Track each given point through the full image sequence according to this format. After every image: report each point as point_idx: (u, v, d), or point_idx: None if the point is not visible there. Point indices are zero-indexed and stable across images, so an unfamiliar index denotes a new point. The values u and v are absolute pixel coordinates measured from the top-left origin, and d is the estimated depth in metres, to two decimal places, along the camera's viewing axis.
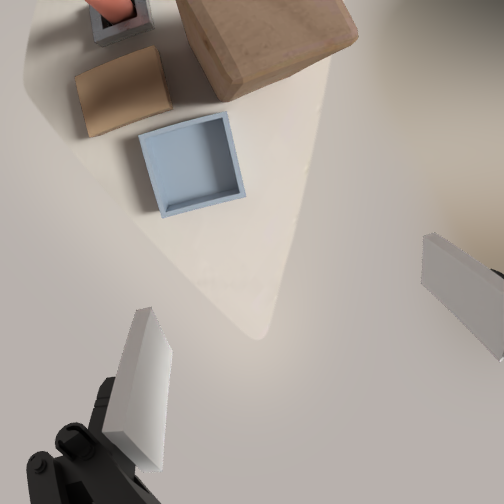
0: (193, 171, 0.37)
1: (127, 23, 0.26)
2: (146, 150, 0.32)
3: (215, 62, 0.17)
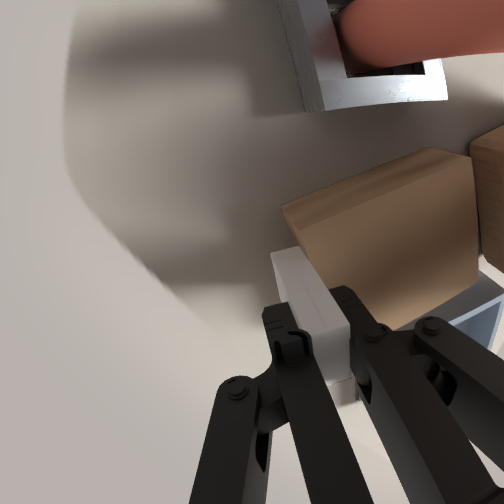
0: None
1: (407, 84, 0.11)
2: None
3: None
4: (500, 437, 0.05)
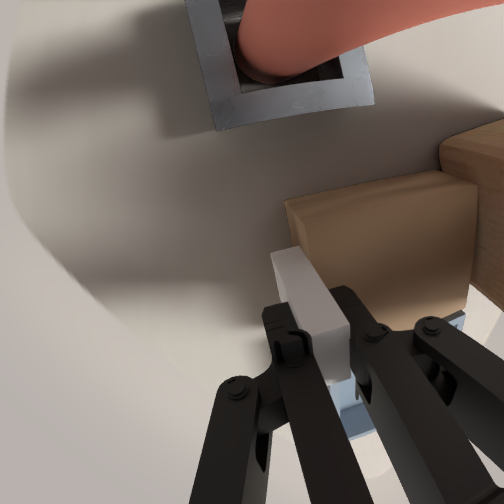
0: None
1: (318, 91, 0.11)
2: (337, 385, 0.18)
3: None
4: (500, 437, 0.05)
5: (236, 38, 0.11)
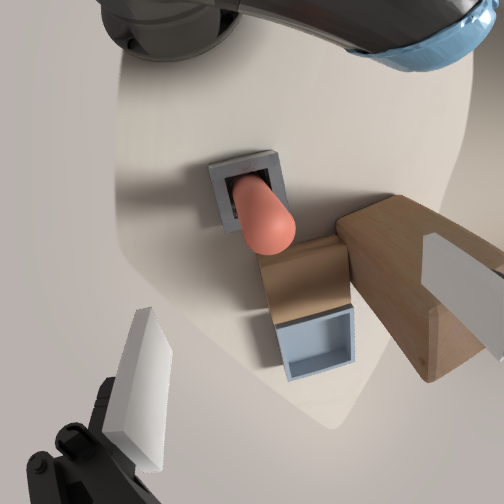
0: (312, 340, 0.43)
1: None
2: (282, 340, 0.39)
3: (422, 371, 0.23)
4: None
5: (232, 191, 0.32)
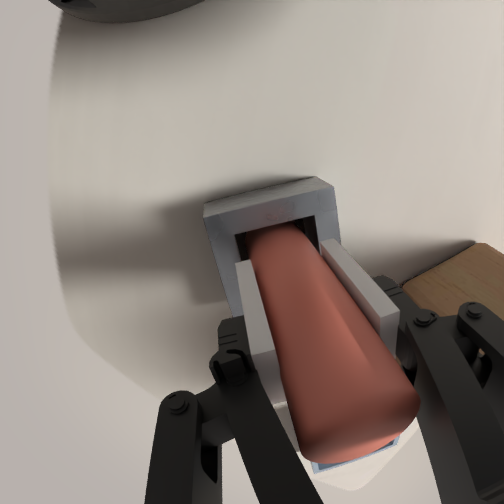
0: None
1: None
2: None
3: None
4: None
5: (248, 254, 0.18)
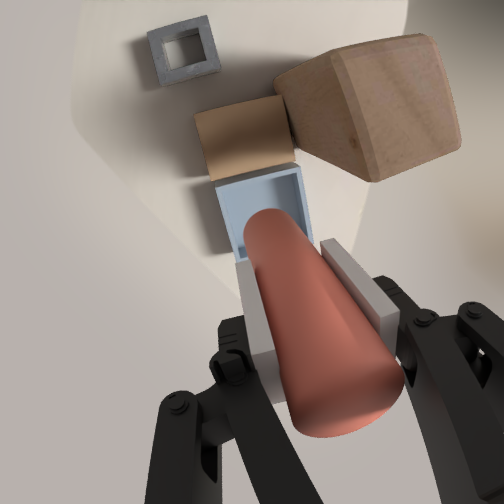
0: None
1: (196, 67, 0.30)
2: (223, 202, 0.36)
3: (358, 160, 0.20)
4: None
5: (246, 246, 0.19)
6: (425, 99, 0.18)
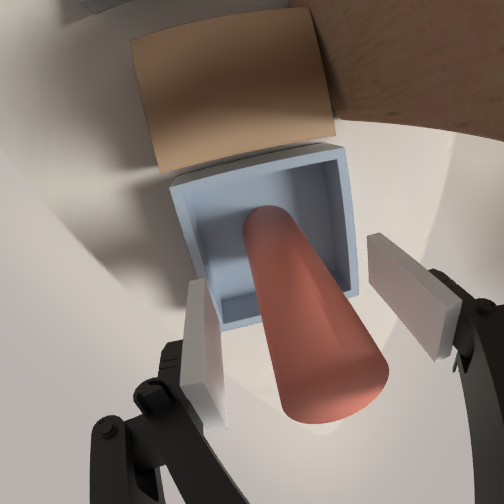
0: None
1: None
2: (186, 218, 0.17)
3: None
4: None
5: (245, 241, 0.20)
6: None
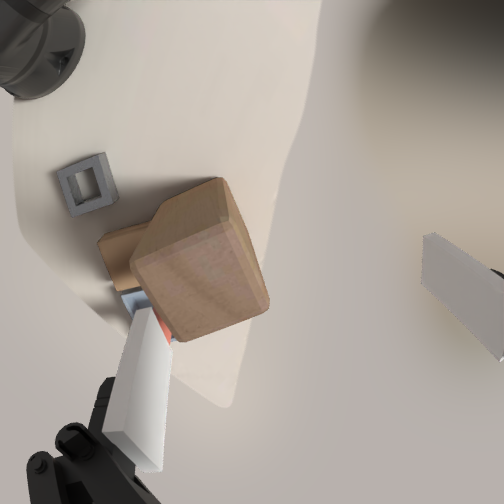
0: None
1: (95, 203, 0.38)
2: (128, 305, 0.45)
3: None
4: None
5: None
6: (216, 284, 0.26)
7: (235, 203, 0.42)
